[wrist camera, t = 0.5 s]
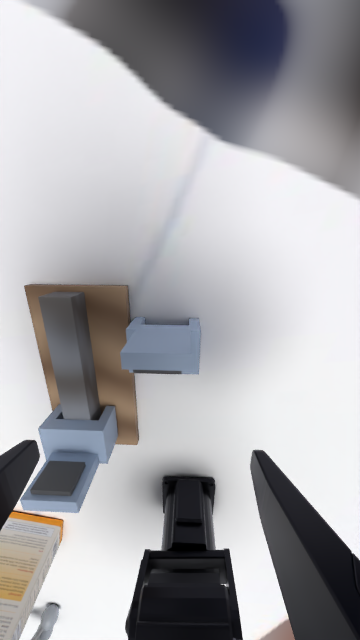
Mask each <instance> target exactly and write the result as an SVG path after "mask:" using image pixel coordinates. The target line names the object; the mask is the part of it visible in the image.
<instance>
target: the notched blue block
mask: <svg viewBox="0 0 360 640" xmlns="http://www.w3.org/2000/svg"><path fill="white" fill-rule="evenodd" d="M200 334H201V330H200V324H199V318H189V325H145V317H135V318H134V320H133V321H132V322H131V323H130V325H129V326H128V327H127V328H126V338H127V343H126V344H125V346H124V347H123V349H122V350H121V352H120V356H121V367H122V369H127V370H129V373H154V374H199V359H200Z"/></svg>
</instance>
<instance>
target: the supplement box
mask: <svg viewBox="0 0 360 640" xmlns="http://www.w3.org/2000/svg"><path fill="white" fill-rule="evenodd" d="M62 528H63V520H58V519H51V518H45V517H39V516H34V515H28V514H23V513H18V512H11V514H10V516H9V517H8V519H7V521H6V522H5V524H4V526H3V527H2V529H1V531H0V640H19V638H20V636H21V634H22V631H23V629H24V627H25V624H26V622H27V620H28V617H29V615H30V613H31V610H32V608H33V606H34V603H35V601H36V599H37V596H38V594H39V592H40V589H41V587H42V585H43V582H44V580H45V578H46V575H47V573H48V571H49V568H50V566H51V564H52V561H53V559H54V557H55V554H56V552H57V550H58V548H59V545H60V543H61V540H62Z"/></svg>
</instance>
